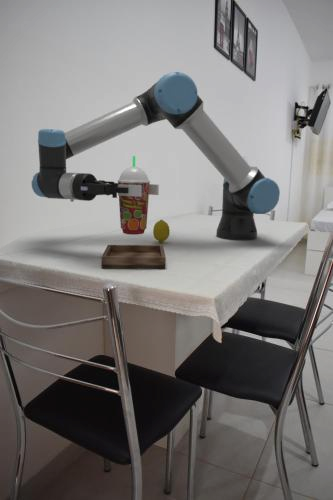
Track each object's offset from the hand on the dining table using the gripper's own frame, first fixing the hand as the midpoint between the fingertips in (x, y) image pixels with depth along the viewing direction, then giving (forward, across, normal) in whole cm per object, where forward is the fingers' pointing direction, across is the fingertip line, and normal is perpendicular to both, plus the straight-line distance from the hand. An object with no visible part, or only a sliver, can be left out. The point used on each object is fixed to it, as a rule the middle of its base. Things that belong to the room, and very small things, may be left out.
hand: (149, 190), depth 100 cm
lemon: (-11, -28, -19) cm, 35 cm away
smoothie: (-5, 0, -12) cm, 13 cm away
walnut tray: (-4, 0, -19) cm, 20 cm away
